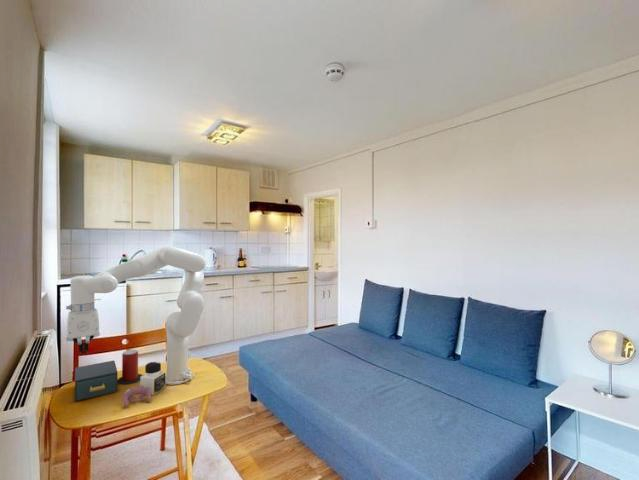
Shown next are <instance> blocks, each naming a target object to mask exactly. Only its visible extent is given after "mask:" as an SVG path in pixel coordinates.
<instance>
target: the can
mask: <svg viewBox="0 0 639 480" xmlns="http://www.w3.org/2000/svg"><path fill="white" fill-rule="evenodd" d="M138 374H139V351H138V350H137V349H128V350H125V351H123V352H122V355H121V377H122V381H124V382H128V381H133V380H135V379H137V378H138Z"/></svg>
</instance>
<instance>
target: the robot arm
mask: <svg viewBox="0 0 639 480" xmlns="http://www.w3.org/2000/svg"><path fill="white" fill-rule="evenodd" d="M206 265H207V261H206V259H205V257H204V256H203V255H202V254H199V253H196V252H192V251H189V250H186V249H182V248H179V247H177V246H171V245H165V246H162V247H159V248H157V249H155V250H152V251H150V252H148V253H147V252H146V253H145V254H143V255H141V256H138V257H136V258H133V259H131V260H128V261H125V262H122V263H120V264H117V265H115V266H112V267H110V268H108V269H105V270H103V271H101V272H99V273H97V274H96V275H94V276H92V275H76V276H72V278H71V279H70V304H69V305H66V306H65V309H66V311H67V310H68V311H69V312H68V314H67V318H66V321H67V322H66V339H65V340H66V342H74V343H76V344H77V345H78V352H79V353H80V354H81V355H86V354H87V352H88V351H89V343H90V342H91V341H92V340H93V339H94V338H97V337H99V336H100V335H101V333H100V320H99V312H98V309H97V308H96V306H95V304H96V303H95V294H109V293H110V294H111V293H112V292H114V291H115V290H116V289H117V287H118V286H119V284H120V283H122V282H124V281H127V280H130V279H133V278H142V277H145V276H148V275H149V274H152V273H154V272H156V271H158V270H160V269H163V268H165V267H166V266H170V267H174V268H178V269H180V270H184V274H185V277H184V281H183V284H182V286H181V289H180V291H179V294H178V295H177V298H176V305H177V307H178V308H179V309H180V311H173V312H172V313H170V314H169V315H168V316H167V318H166V320H165V335H166V373H165V385H168V386H169V385H170V386H171V385H172V386H176V385H180V384H185V383H187V382H188V381H190V380H193V378H194V377H195V372H192V371H191V368H190V367H189V362H190V361H189V360H190V359H189V355H190V354H189V351H190V347H189V346H190V338H189V337H190V336H191V335H192V334H193V333H194V332H195V331H196V329H197V326H198V324H199V321H200V319H201V316H202V314H203V310H204V307H205V300H204V297H203V295H202V294H201V290H202V288H203V284H204V280H205V274H204V269H205V267H206ZM82 338H85V339H84V340H83V339H82Z"/></svg>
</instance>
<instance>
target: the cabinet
mask: <svg viewBox="0 0 639 480" xmlns="http://www.w3.org/2000/svg"><path fill="white" fill-rule="evenodd" d="M74 373H75V374H74V402H79V401H83V400H87V399H92V398H96V397H101V396H104V395H109V394H113V393H116V392H118V383H117V381H118V373H119V372H118V368H117V365H116V361H115V360H114V359H113V360H109V361H103V362H98V363H97V362H96V363H93V364H88V365H82V366H77V367H75V372H74ZM113 374H114V375H115V374H116V391H114V392H109V393H105V394H101V395H97V396H93V397H88V398H84V399H80V400H77V382H80V381H85V380H90V379H94V378H99V377H104V376H109V375H113Z"/></svg>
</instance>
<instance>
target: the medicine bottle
mask: <svg viewBox="0 0 639 480" xmlns="http://www.w3.org/2000/svg"><path fill="white" fill-rule="evenodd" d="M144 370H145V372H144V373H145V374H142V375H143V376H141V377H140V381H139V386H147V387H149V388H150V392H151V396H152V395H154V396H155V395H156V394H157V393H159V392H160V391H162V390H164V389H165V388H166V384H165V375H166V371H162V363H161V362H160V361H150V362H148V363H146V364H145V366H144Z"/></svg>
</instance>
